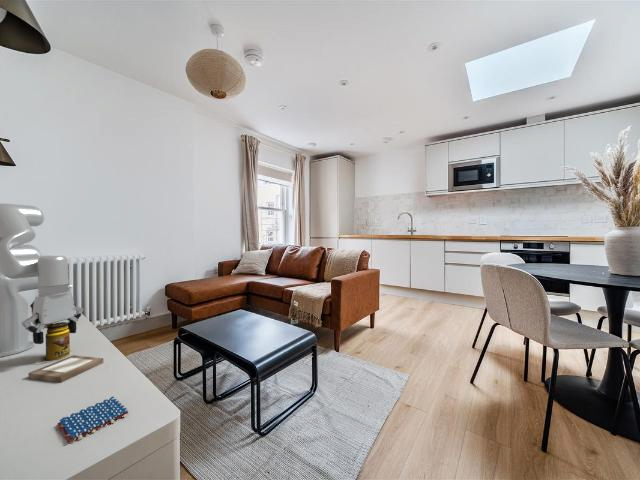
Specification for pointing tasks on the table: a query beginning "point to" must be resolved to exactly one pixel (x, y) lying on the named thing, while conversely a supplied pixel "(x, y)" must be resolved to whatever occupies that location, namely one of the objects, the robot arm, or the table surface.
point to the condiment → (56, 343)
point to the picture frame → (65, 368)
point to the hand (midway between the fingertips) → (56, 337)
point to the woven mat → (91, 419)
